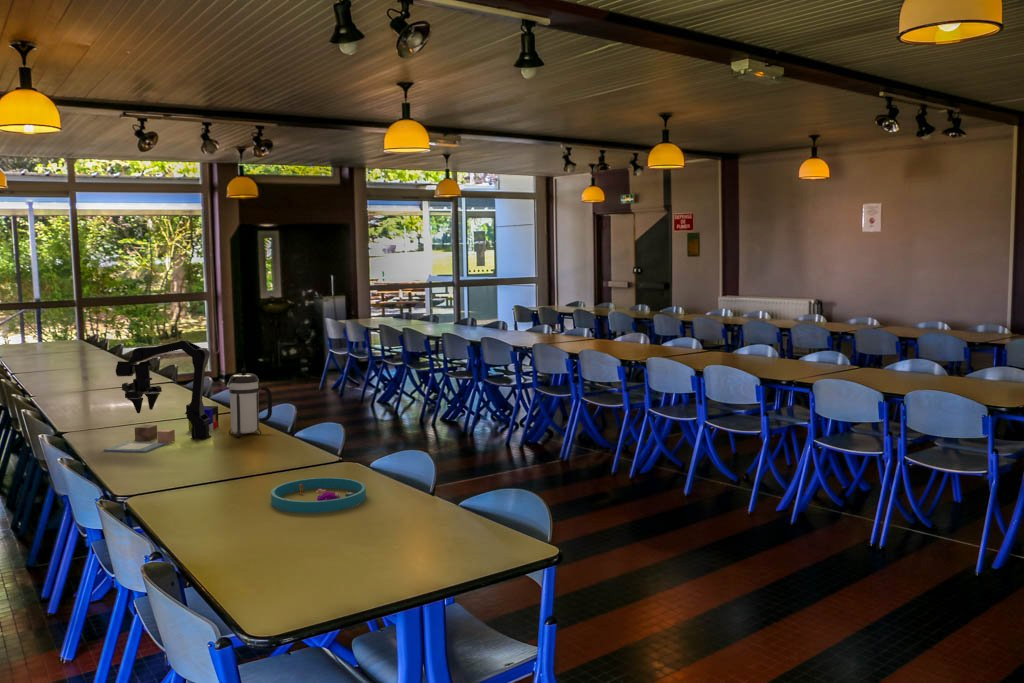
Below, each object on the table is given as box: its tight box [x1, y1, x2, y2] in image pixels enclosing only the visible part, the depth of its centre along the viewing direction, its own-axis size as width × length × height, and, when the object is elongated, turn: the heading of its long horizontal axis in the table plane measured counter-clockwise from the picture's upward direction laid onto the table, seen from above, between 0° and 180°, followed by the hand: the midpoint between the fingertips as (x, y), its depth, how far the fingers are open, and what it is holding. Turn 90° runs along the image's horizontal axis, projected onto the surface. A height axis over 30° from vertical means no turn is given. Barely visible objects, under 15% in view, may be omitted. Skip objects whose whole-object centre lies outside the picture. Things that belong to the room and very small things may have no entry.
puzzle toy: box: [188, 405, 220, 432], centre depth 384 cm, size 10×10×10 cm
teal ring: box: [270, 477, 367, 514], centre depth 269 cm, size 30×30×6 cm
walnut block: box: [134, 424, 158, 442], centre depth 360 cm, size 6×6×6 cm
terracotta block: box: [157, 428, 176, 444], centre depth 356 cm, size 5×5×5 cm
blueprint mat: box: [103, 440, 168, 454], centre depth 344 cm, size 18×16×1 cm
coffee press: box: [226, 367, 273, 438], centre depth 372 cm, size 17×16×30 cm
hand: (144, 411), depth 361 cm, fingers open, 9 cm apart
